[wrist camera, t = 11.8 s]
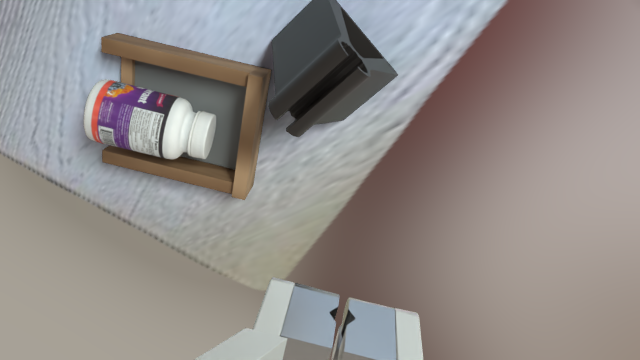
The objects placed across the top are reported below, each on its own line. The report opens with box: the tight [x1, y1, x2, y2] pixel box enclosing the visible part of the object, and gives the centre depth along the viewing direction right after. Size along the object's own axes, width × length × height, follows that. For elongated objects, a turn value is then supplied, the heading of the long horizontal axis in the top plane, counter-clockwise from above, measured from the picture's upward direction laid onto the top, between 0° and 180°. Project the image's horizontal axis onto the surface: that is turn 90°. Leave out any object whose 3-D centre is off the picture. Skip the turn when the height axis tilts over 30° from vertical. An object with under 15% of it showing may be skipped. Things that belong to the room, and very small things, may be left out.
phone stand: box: [269, 0, 398, 137], centre depth 33 cm, size 9×6×12 cm, turn 42°
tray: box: [101, 33, 271, 200], centre depth 41 cm, size 11×14×3 cm
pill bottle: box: [84, 79, 216, 159], centre depth 40 cm, size 5×5×10 cm
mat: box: [135, 60, 247, 169], centre depth 42 cm, size 9×11×1 cm
